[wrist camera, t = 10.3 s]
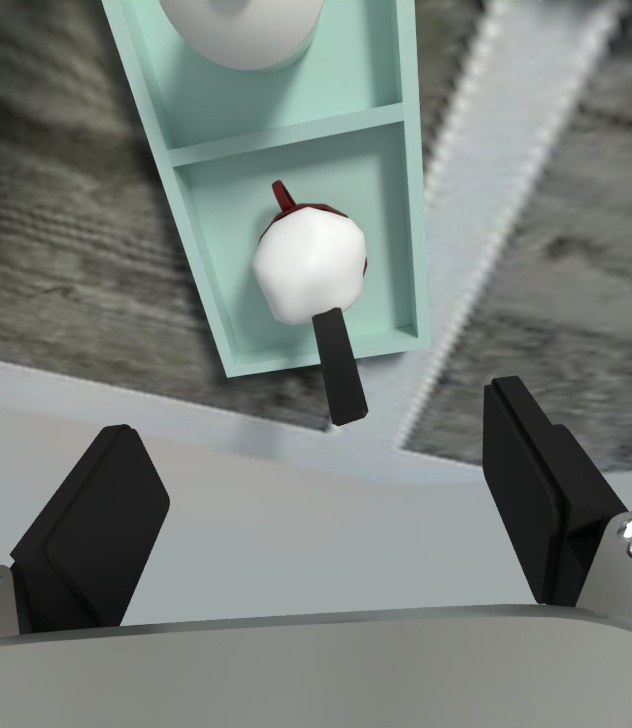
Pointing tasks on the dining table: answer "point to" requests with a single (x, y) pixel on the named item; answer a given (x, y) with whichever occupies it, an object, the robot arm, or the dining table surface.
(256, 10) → the sugar pot
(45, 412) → the dining table surface
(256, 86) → the tray
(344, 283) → the cocoa
